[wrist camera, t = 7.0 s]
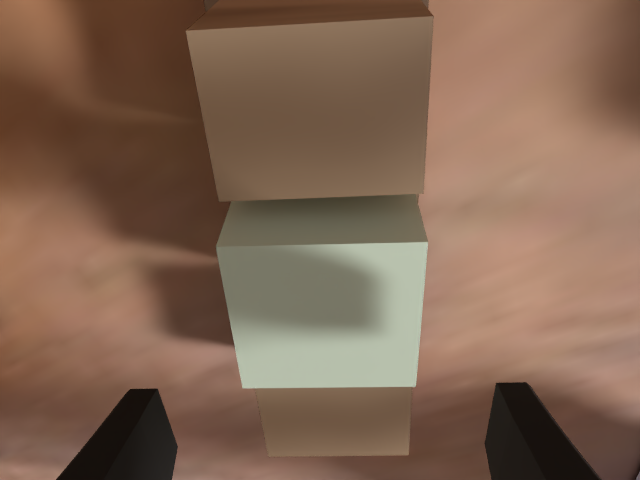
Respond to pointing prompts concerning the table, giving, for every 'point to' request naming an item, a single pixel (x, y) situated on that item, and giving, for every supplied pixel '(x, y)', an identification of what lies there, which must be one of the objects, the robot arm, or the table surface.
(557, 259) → the table surface
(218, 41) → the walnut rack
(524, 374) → the table surface
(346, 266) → the sage block
